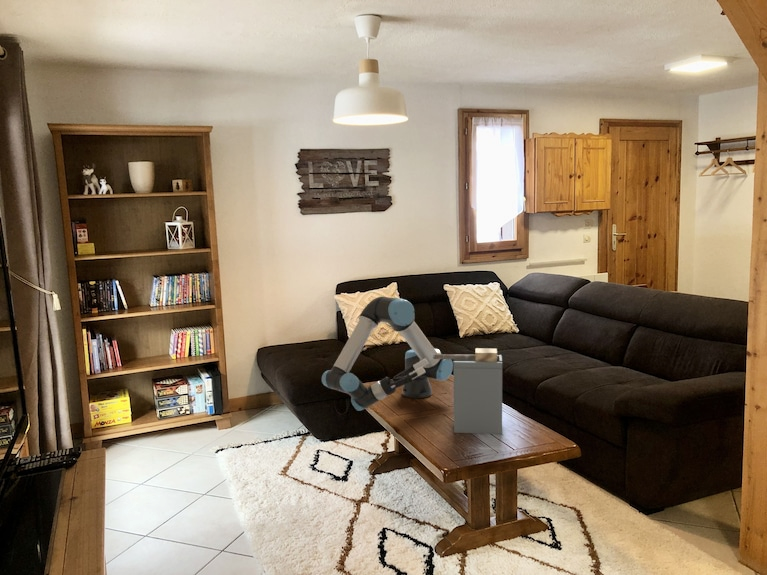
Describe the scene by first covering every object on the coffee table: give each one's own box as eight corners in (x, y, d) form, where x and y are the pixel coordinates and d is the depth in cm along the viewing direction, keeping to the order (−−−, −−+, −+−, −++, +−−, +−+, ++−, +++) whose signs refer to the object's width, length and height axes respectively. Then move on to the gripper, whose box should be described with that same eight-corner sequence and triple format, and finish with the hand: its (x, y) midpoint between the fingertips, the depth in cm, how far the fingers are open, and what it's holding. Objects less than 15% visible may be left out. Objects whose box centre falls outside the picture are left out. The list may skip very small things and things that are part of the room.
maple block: (432, 365, 261) (432, 352, 261) (433, 361, 269) (433, 347, 268) (497, 367, 257) (497, 353, 256) (496, 362, 265) (496, 348, 264)
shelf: (453, 432, 261) (453, 361, 257) (455, 420, 275) (454, 353, 270) (502, 434, 258) (502, 362, 253) (500, 422, 271) (501, 353, 267)
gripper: (392, 387, 282) (432, 365, 278) (383, 404, 258) (427, 380, 253) (384, 373, 282) (423, 350, 278) (374, 389, 258) (417, 365, 253)
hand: (425, 365), depth 265 cm, fingers open, 13 cm apart
